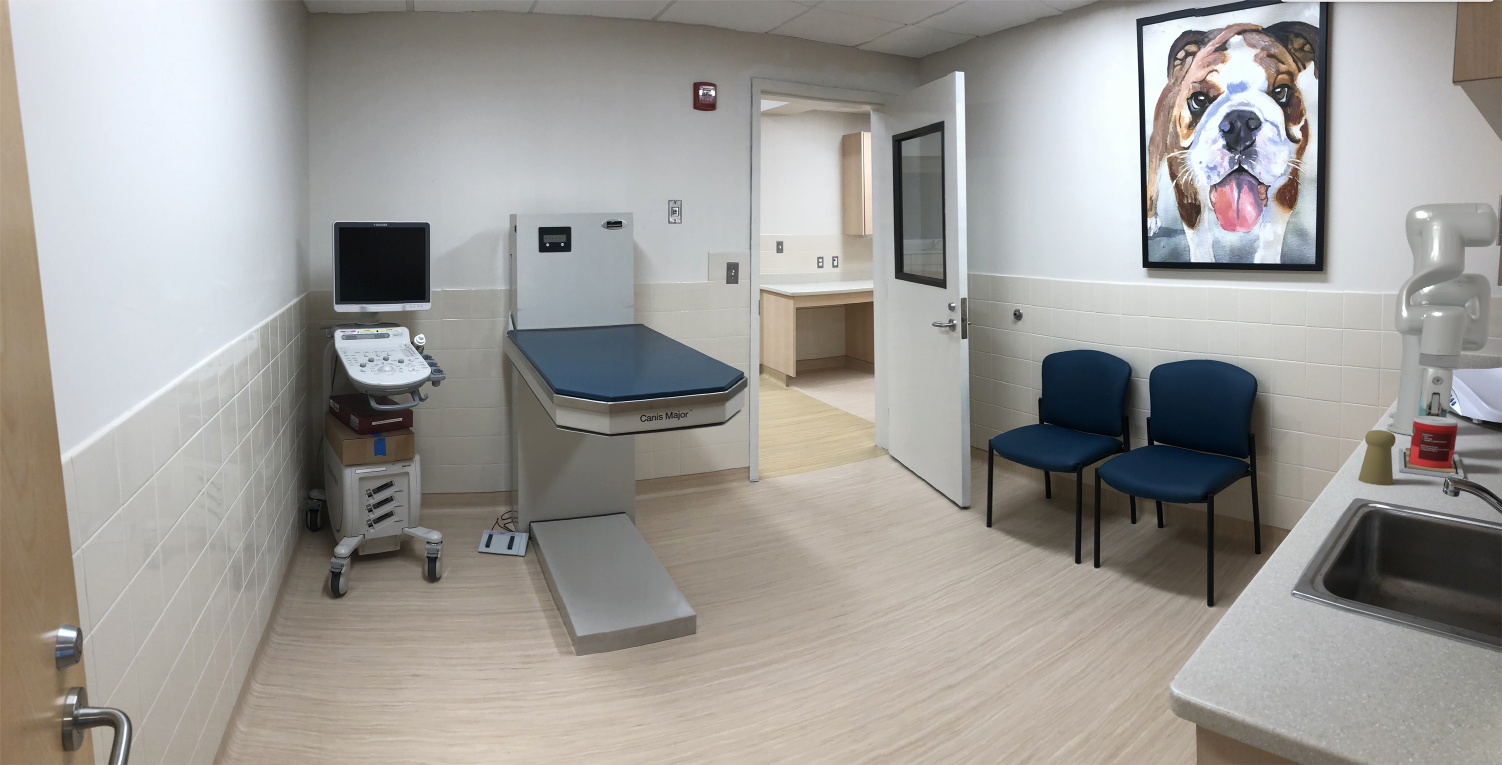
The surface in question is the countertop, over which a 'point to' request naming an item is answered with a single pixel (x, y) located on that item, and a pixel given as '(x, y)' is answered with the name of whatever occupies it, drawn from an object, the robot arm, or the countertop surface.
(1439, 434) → the canned food
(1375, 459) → the cork
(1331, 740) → the countertop surface
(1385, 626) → the countertop surface
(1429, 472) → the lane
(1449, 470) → the teal upright with base
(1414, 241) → the robot arm
